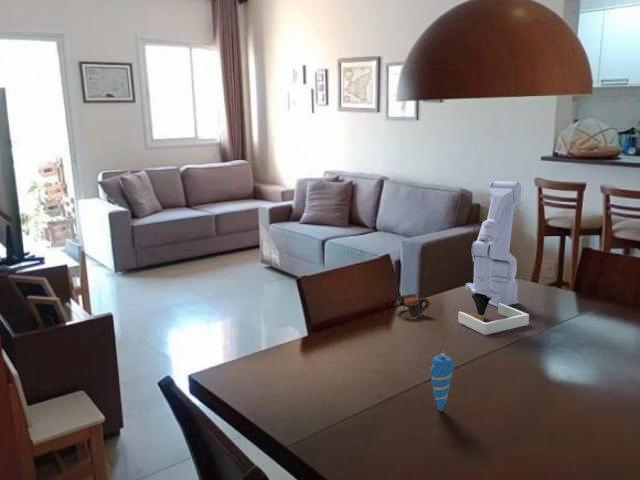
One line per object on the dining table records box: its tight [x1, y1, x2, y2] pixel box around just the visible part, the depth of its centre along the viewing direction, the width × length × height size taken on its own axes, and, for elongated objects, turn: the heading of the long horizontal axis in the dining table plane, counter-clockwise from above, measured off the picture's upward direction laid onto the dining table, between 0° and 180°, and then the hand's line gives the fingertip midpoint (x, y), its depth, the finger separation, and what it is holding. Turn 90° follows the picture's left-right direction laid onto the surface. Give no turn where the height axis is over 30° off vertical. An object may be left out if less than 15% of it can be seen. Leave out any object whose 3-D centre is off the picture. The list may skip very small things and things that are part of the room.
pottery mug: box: [394, 293, 431, 319], centre depth 197 cm, size 12×10×8 cm
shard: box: [464, 312, 485, 322], centre depth 187 cm, size 11×8×2 cm
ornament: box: [429, 350, 455, 412], centre depth 131 cm, size 5×5×15 cm
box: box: [457, 303, 530, 336], centre depth 186 cm, size 18×13×4 cm
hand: (481, 314), depth 191 cm, fingers closed, pressing on shard
